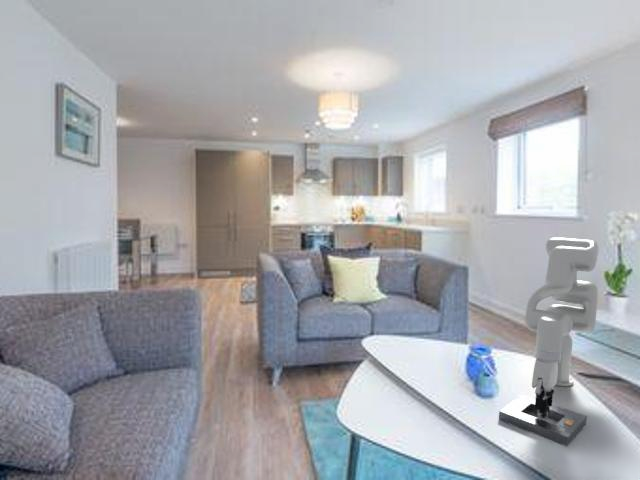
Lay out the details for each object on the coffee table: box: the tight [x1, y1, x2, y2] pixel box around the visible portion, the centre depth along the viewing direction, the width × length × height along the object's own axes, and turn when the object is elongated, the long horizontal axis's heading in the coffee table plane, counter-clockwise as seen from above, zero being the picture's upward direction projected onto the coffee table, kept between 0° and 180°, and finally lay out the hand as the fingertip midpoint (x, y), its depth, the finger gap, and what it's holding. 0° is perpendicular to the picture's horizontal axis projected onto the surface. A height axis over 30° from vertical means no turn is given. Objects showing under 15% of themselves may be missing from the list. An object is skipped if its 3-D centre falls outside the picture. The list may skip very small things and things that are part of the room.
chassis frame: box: [498, 393, 588, 447], centre depth 146 cm, size 19×21×3 cm
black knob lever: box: [536, 388, 555, 419], centre depth 145 cm, size 7×5×10 cm
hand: (543, 406), depth 146 cm, fingers closed on black knob lever, 4 cm apart
